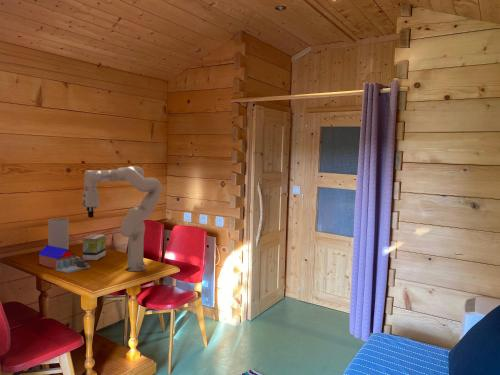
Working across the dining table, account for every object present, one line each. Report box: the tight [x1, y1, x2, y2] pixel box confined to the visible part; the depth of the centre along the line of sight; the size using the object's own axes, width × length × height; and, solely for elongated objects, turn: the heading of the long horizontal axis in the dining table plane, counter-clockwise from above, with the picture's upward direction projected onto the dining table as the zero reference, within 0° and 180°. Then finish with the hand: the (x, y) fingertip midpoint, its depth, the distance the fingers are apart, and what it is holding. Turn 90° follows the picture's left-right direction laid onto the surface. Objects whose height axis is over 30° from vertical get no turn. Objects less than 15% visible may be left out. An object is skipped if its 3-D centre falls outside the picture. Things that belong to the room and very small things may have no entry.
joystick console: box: [55, 256, 91, 274], centre depth 239 cm, size 11×16×5 cm
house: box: [38, 245, 76, 269], centre depth 246 cm, size 12×20×12 cm, turn 61°
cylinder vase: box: [47, 217, 70, 251], centre depth 270 cm, size 12×12×25 cm
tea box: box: [82, 234, 107, 261], centre depth 267 cm, size 15×10×15 cm
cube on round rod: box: [75, 258, 89, 268], centre depth 241 cm, size 10×4×4 cm, turn 61°
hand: (90, 217), depth 256 cm, fingers closed
